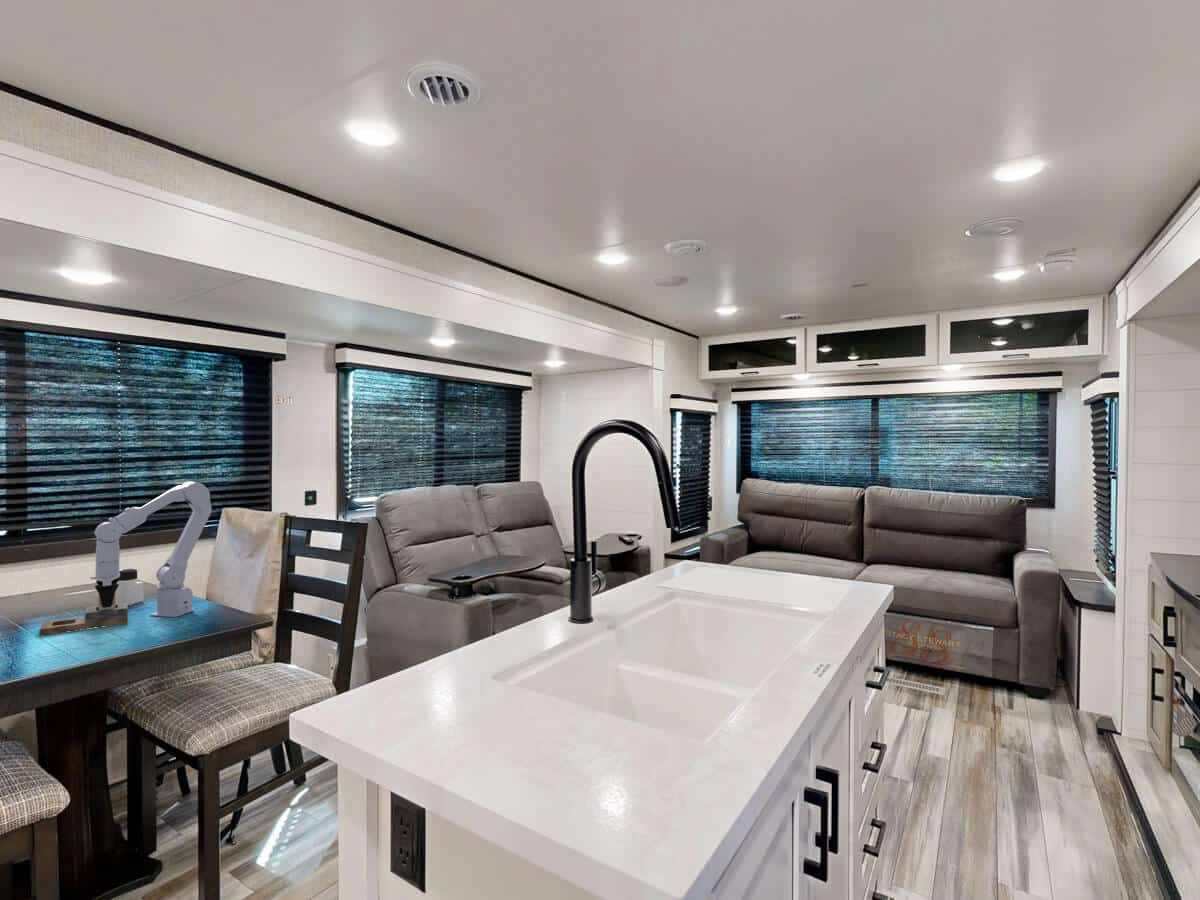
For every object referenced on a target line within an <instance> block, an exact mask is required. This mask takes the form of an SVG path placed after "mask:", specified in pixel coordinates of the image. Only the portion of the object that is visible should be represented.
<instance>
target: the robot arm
mask: <svg viewBox="0 0 1200 900" xmlns="http://www.w3.org/2000/svg"><path fill="white" fill-rule="evenodd" d="M210 497H211V492H210V491H209V490H208V488H207V487H206V485H204V484H203V483H200V482H196V481H184V482H183V483H182V484H181V485H176V486H174V487H172V488H170V489H168V490H167V491H166V492H164V493H162V494H161V495H159V496H157V497H156V498H154V499H152V500H151V501H148V502H147V503H145V504H144V505H142V506H141V507H139V506H138V507H137V506H132V507H126V508H125V509H124V511H123V512H122V513H120V514H118V515H117V516H116V515H115V516H114V517H109V518H108V521H105V522H102V523H100V524H99V525H97V526H96V528H95V530H94V531H93V533H94V536H95V537H96V538H97V539H96V543H95V544H96V547H95V575H91V576H90V580H95V583H96V584H95V585H94V588H95V590H96V591H97V593H98V597H99V596H100V600H101V605H102V607H103V608H106V607H111V606H112V603H113V598H114V594H115V591H116V589H117V588H118V586H119V584H117V582H118V580H119V578H118V577H120V574H119V570H120V549H121V548H120V538H121V537H122V535H123V534H126V533H127V532H129V531H132V530H133V529H135V528H136V527H138V526H140V525H141V524H144V523H145V522H146V521H147V518H148V516H149V515H151V514H153V513H155V512H156V511H158V510H160V509H162V508H164V507H166V506H168V505H170V504H171V503H175V502H187V503H188V505H189V507H190V509H191V510H192V512H191V514H190V516H189V518H188V520H187V522H186V525H185V526H184V528H183V530H182V531H181V532H182V533H181V535H180V537H179V538H178V541H177V543H176V544H175V546H174V548H173V550H172V553H171V555H170V556H169V557H168V558H167V559H166V560H165V562H164V564H163V565H162V566H161V567H159V568H158V570H157V572H156V579H157V580H158V581H159V583H158V585H157V588H156V611H155V612H152V613H150V614H149V616H150V617H151V616H153V617H165V618H166V617H168V618H169V617H170V618H171V617H172V618H177V617H179V616H182V615H185V613H186V614H188V613H190V612H191V613H192V612H194V611H195V609H194V608H193V597H194V596H193V591H192V589H191V588H190V587H186V586H185V583H184V582H185V579H186V570H187V568H188V560H189V558H190V557H191V554H192V552H193V550H194V548H195V547H196V544H197V542H198V539H199V538H200V536H201V534H202V532H203V529H204V527H205V525H206V524H207V522H208V520H209V518H210V516H211V514H212V503H211V498H210Z"/></svg>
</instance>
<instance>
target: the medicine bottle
mask: <svg viewBox="0 0 1200 900" xmlns="http://www.w3.org/2000/svg"><path fill="white" fill-rule="evenodd" d="M119 574H120V577H118V578H119V580H118V582H117V584H119V586H118V588H117V589H116V594H115V603H123V602H127V605H131V604H134V603H137V604H139V603H138V602H141V601H143V602H144V599H145V597H144V596H145V591H144V590H145V583H144V581H138V570H137V569H135V568H123V569H119ZM141 603H142V602H141ZM134 605H135V604H134ZM131 606H132V605H131Z"/></svg>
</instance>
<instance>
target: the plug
mask: <svg viewBox="0 0 1200 900" xmlns="http://www.w3.org/2000/svg"><path fill="white" fill-rule="evenodd" d="M115 594H116V591H115ZM115 594H114V598H113V603H112V606H111V607H106V608H103V607H102V605H101V600H100V596H99V595H98V605H99V610H106V609H114V608H115Z"/></svg>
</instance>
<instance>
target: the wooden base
mask: <svg viewBox="0 0 1200 900" xmlns="http://www.w3.org/2000/svg"><path fill="white" fill-rule="evenodd" d="M128 607H129V606H128V605H127V602H123V603H115V608H114V609H106V610H99V604H98V605H90V606H86V609H85V615H84V616H79V617H78V616H77V617H70V618H62V619H54V620H46V621H42V623H41V625H40V628H39V636H40V637H42V636H41V635H44V636H50V635H49V634H52V635H57V634H56V633H59V634H63V633H62V632H66V633H68V632H67V631H74V632H76V631H75V630H80V629H87V628H94V627H102V626H110V627H112V626H111V625H118V626H121V625H120V624H125V625H128V618H129V617H128V616H129V614H128V612H129V611H128V610H129V609H128Z"/></svg>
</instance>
